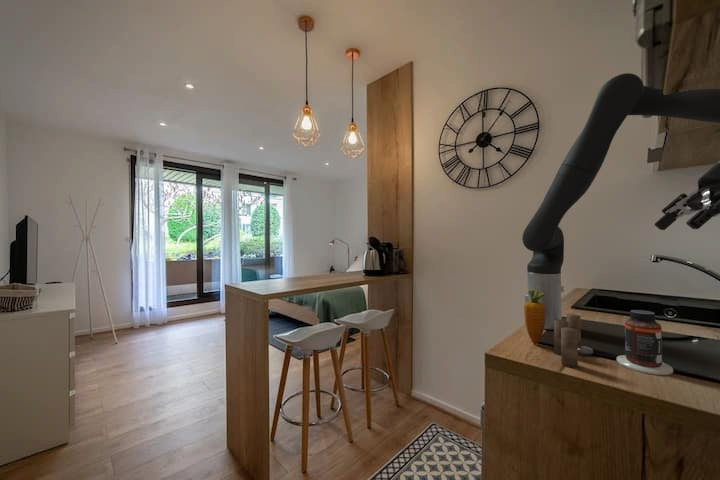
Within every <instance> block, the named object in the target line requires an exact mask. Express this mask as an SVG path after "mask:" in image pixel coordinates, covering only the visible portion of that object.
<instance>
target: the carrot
mask: <svg viewBox="0 0 720 480" xmlns="http://www.w3.org/2000/svg"><path fill="white" fill-rule="evenodd" d="M538 293H539V290H537V291H536V294H535V297H534V289H531V290H530V291H529V294H530V297H531V301H529V302H526V303H525V302H524V304H523V313H524V315H523V316H524V322H525V323H524V324H525V328H526V332H527V334H528V336H529V338H530V340H531V342H532V344H534V345H537V344H538V343H539V342H540V340H541V338H542V335H543V333H544V330H545V329H544V325H545V306H544V305H543V304H542V303H540V302H538V300H539V299H540V298H541V297H542V296H544V295H545V294H544V293H542V294H540V295H539V296H538Z"/></svg>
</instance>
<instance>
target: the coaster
mask: <svg viewBox="0 0 720 480" xmlns="http://www.w3.org/2000/svg"><path fill="white" fill-rule="evenodd" d="M616 362H617V364H619V365H620V366H622V367H624V368H626V369H629V370H631V371H632V370H633V371H635V372H638V373H643V374H648V375H654V376H670V375H673V374H674V369H673V367H672V366H671V365H669V364H667V363H665V362H664V361H662V366H660V367H647V366H642V365H638V364H635V363H632V362H630V361H629V360H627V359H626V354H623V355H622V354H621V355H618V356H617V357H616Z"/></svg>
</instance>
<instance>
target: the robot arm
mask: <svg viewBox="0 0 720 480" xmlns="http://www.w3.org/2000/svg"><path fill="white" fill-rule="evenodd" d="M663 89H664V88H657V87H652V86H647V85H644V82H643V80H642V78H640V76H638V75H637V74H635V73H631V72H630V73H629V72H626V73H620V74H618V75H615V76H614V77H612V78H610V79H608V80H607V81H606V82H605V83H604V84H603V85H602V86H601V87H600V89H599V90H598V93H597V95H596V98H595V101H594V104H593V106H592V109H591V111H590V113H589V116H588V118H587V120H586V122H585V125H584V126H583V128H582V130H581V132H580V134H579V135H578V136H577V137H576V139H575V141H574V143H573V145H572V146H571V148H570V149H569V150H568V153H566V156H565V158H564V160H563V161H562V163H561V165H560V167H559V168H558V170H557V172H556V175H555V176H554V179H553V180H552V183H551V184H550V186H549V188H548V190H547V192H546V194H545V196H544V197H543V200H542V202H541V204H540V206H539V207H538V208H537V210H536V212H535V213H534V215H533V217H532V218H531V220H529V222H528V223H527V224H526V225H527V226H526V227H525V229H524V231H523V233H522V237H521V239H522V243H523V245H524V247H525V248H526V249H527V250H528V251H531V252H532V258H531V259H530V261H529V262H528V263H527V267H526V271H527V273H526V274H527V275H526V276H527V277H526V278H527V293H526V294H525V295H524V304H525V303H526V302H529V301H531V297H530V294H529V291H530V290H531V289H534V297H535V294H536V291H537V290H539V293H538V296H539V295H540V294H542V293H544V294H545V295H544V296H542V297H541V298H540V299H539V300H538V302H540V303H542V304H543V305H544V306H545V325H544V330H553V331H554V320H557V319H558V320H563V319H562V318H563V317H562V314H563V313H562V267H563V265H564V257H565V256H564V255H565V236H564V233H563V231H562V229H561V228H560V226H559V225H560V223H561V221H562V219H563V218H564V216H565V215H566V214H567V212H568V211H569V210H570V209H571V208H572V207H573V206H574V205H575V204H576V203H577V202H578V201H579V200H580V199H581V198H582V197H583V196H584V195H585V193H587V192H588V190H589V189H590V187H591V186H592V184H593V182H594V180H595V179H596V177H597V176H598V173H599V171H600V170H601V168H602V166H603V164H604V162H605V159H606V157H607V155H608V153H609V149H610V146H611V144H612V141H613V139H614V138H615V135H616V134H617V132H618V130H619V128H620V127H621V125H622V124H623V123H624V121H625V120H626V118H627V117H628V116H654V117H669V118H675V119H683V120H691V121H698V122H706V123H715V124H716V123H717V124H720V88H699V89H697V88H695V89H694V90H692V89H687V90H688V91H683V92H677V93H671V94H668V95H664V94H663ZM697 187H698V189H697V190H694V191H693V192H691V193H689V194H686V193H681V194H680V195H678V196H677V197H675V199H674V200H672V201H671V202H670V203H668V204H667V205H666V206H665V207H664V208H663V209H661V212H662V214H664V215H662V216H661V217H660V218H659V219H658V220H656V222H654V226H655V227H656V228H657V229H658V230H660V231H665V230H666V229H667V228H669V227H670V226H671V225H672V224H674V223H675V222H676V221H677V219H679V218H682V217H684V216H686V215H687V216H689V215H692V216H691V217H690V218H689V219H688V220H687V221H686V223H685V224H686V225H687V226H688V227H689V228H691V229H692V230H698V229H700V228H702V227H703V226H704V225H705V224H706V223H707V222H708V221H710V220H711V219H712V218H715V217H718V216H719V215H720V160H718V161H717V163H715V164H714V165H713V166H712V167H711V168H710V169H709V170H707V171H706V172H705V173H704V174H703V175H702V176H701V177H699V178H698V180H697ZM687 207H689V208H687ZM694 213H695V214H694ZM693 214H694V215H693Z"/></svg>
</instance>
